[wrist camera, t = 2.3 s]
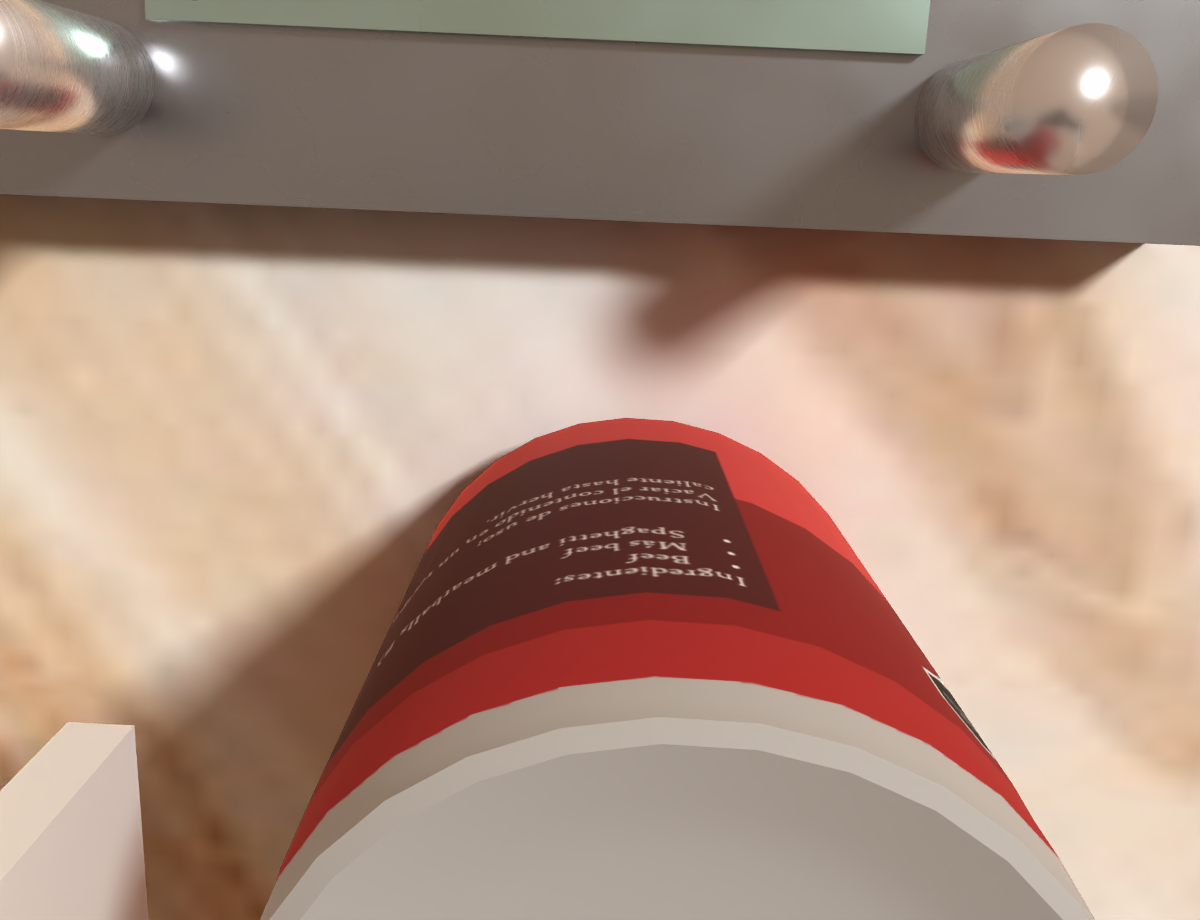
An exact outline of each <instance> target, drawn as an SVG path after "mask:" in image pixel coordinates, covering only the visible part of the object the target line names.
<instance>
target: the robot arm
mask: <svg viewBox="0 0 1200 920" xmlns="http://www.w3.org/2000/svg"><path fill="white" fill-rule="evenodd" d="M0 920H149V915H148V902H147V888H146V875H145V861H144V848H143V835H142V821H141V808H140V794H139V781H138V767H137V754H136V741H135V727H134V725H117V724H95V723H74V722H67V723H66V724H65V725H64V726H63V727H62V728H61V729H60V730H59V731H58V732H57V734H56V735H55V736H54V737H53V738H52V739H51V740H50V741H49V742H48V743H47V744H46V745H45V746H44V747H43V748H42V749H41V750H40V751H39V752H38V753H37V754H36V755H35V756H34V757H33V758H32V759H31V760H30V761H29V762H28V763H27V764H26V765H25V766H24V767H23V768H22V769H21V770H20V771H19V772H18V773H17V774H16V775H15V776H14V777H13V778H12V779H11V780H10V781H9V782H8V783H7V784H6V785H5V786H4V787H3V788H2V789H1V790H0Z"/></svg>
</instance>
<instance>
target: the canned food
mask: <svg viewBox="0 0 1200 920" xmlns="http://www.w3.org/2000/svg"><path fill="white" fill-rule="evenodd" d="M260 920H1095V919H1094V917H1093V916H1092V914H1091V912H1090V910H1089V909H1088V907H1087V905H1086V904H1085V902H1084V900H1083V898H1082V897H1081V895H1080V893H1079V892H1078V890H1077V888H1076V887H1075V885H1074V883H1073V881H1072V880H1071V878H1070V876H1069V875H1068V873H1067V871H1066V869H1065V868H1064V866H1063V864H1062V863H1061V861H1060V859H1059V857H1058V856H1057V854H1056V853H1055V851H1054V850H1053V848H1052V847H1051V845H1050V844H1049V842H1048V841H1047V839H1046V838H1045V836H1044V835H1043V833H1042V832H1041V831H1040V829H1039V828H1038V826H1037V825H1036V823H1035V822H1034V820H1033V818H1032V816H1031V815H1030V813H1029V811H1028V810H1027V808H1026V806H1025V805H1024V803H1023V801H1022V799H1021V798H1020V796H1019V794H1018V793H1017V791H1016V789H1015V787H1014V786H1013V784H1012V783H1011V781H1010V780H1009V778H1008V777H1007V775H1006V774H1005V773H1004V771H1003V770H1002V768H1001V767H1000V765H999V764H998V762H997V761H996V759H995V758H994V756H993V755H992V753H991V752H990V751H989V749H988V748H987V746H986V745H985V743H984V742H983V740H982V739H981V737H980V736H979V734H978V733H977V732H976V730H975V729H974V727H973V726H972V724H971V723H970V721H969V720H968V718H967V717H966V715H965V714H964V712H963V711H962V710H961V708H960V707H959V705H958V704H957V702H956V701H955V699H954V698H953V696H952V695H951V693H950V692H949V690H948V689H947V688H946V686H945V685H944V683H943V682H942V680H941V679H940V677H939V676H938V674H937V673H936V671H935V670H934V668H933V667H932V666H931V664H930V663H929V661H928V660H927V658H926V657H925V655H924V654H923V652H922V651H921V649H920V648H919V646H918V645H917V644H916V642H915V641H914V639H913V638H912V636H911V635H910V633H909V632H908V630H907V629H906V627H905V626H904V624H903V623H902V622H901V620H900V619H899V617H898V616H897V614H896V613H895V611H894V610H893V608H892V607H891V605H890V604H889V603H888V601H887V600H886V598H885V597H884V595H883V594H882V592H881V591H880V589H879V588H878V586H877V585H876V583H875V582H874V581H873V579H872V578H871V576H870V575H869V573H868V572H867V570H866V569H865V567H864V566H863V564H862V563H861V561H860V560H859V559H858V557H857V556H856V554H855V553H854V551H853V550H852V548H851V547H850V545H849V544H848V542H847V541H846V539H845V538H844V537H843V535H842V534H841V532H840V531H839V529H838V528H837V526H836V525H835V523H834V522H833V520H832V519H831V517H830V516H829V515H828V513H827V512H826V511H825V510H824V509H823V508H822V507H821V506H820V505H819V504H818V502H817V501H816V500H815V499H814V498H813V497H812V496H811V495H810V494H809V492H808V491H807V490H806V489H805V488H804V487H803V486H802V485H801V484H800V483H799V481H797V480H796V479H795V478H793V477H792V476H791V475H789V474H788V473H787V472H785V471H784V470H783V469H781V468H780V467H779V466H777V465H776V464H774V463H773V462H772V461H770V460H769V459H768V458H766V457H765V456H764V455H762V454H761V453H759V452H757V451H755V450H753V449H751V448H748V447H746V446H744V445H742V444H740V443H738V442H736V441H734V440H732V439H730V438H728V437H726V436H723V435H721V434H719V433H716V432H712V431H708V430H704V429H701V428H697V427H693V426H689V425H686V424H682V423H678V422H674V421H663V420H648V419H634V418H622V419H614V420H605V421H597V422H589V423H581V424H577V425H574V426H571V427H568V428H565V429H562V430H559V431H556V432H553V433H550V434H547V435H544V436H541V437H538V438H535V439H533V440H531V441H530V442H528V443H526V444H524V445H523V446H521V447H519V448H517V449H516V450H514V451H512V452H510V453H509V454H507V455H505V456H503V457H502V458H500V459H498V460H496V461H495V462H494V463H493V464H492V465H491V466H490V467H489V468H487V469H486V470H485V471H484V472H483V473H482V474H481V475H480V476H478V477H477V478H476V479H475V480H474V481H473V482H472V483H471V484H469V485H468V486H467V487H466V488H465V489H464V490H463V491H462V492H461V494H460V495H459V496H458V498H457V499H456V501H455V502H454V503H453V505H452V506H451V507H450V509H449V510H448V512H447V513H446V514H445V516H444V517H443V518H442V520H441V521H440V522H439V524H438V525H437V528H436V530H435V532H434V534H433V536H432V538H431V541H430V543H429V545H428V547H427V549H426V551H425V554H424V556H423V558H422V560H421V562H420V564H419V566H418V569H417V571H416V573H415V575H414V577H413V579H412V582H411V584H410V586H409V588H408V590H407V592H406V595H405V597H404V599H403V601H402V603H401V605H400V608H399V610H398V612H397V614H396V616H395V618H394V620H393V623H392V625H391V627H390V629H389V631H388V633H387V636H386V638H385V640H384V642H383V644H382V646H381V649H380V651H379V653H378V655H377V657H376V659H375V662H374V664H373V666H372V668H371V670H370V672H369V674H368V677H367V679H366V681H365V683H364V685H363V687H362V690H361V692H360V694H359V696H358V698H357V700H356V703H355V705H354V707H353V709H352V711H351V713H350V716H349V718H348V720H347V722H346V724H345V726H344V729H343V731H342V733H341V735H340V737H339V739H338V741H337V744H336V746H335V748H334V750H333V752H332V754H331V757H330V759H329V761H328V763H327V765H326V767H325V770H324V772H323V774H322V776H321V778H320V780H319V783H318V785H317V787H316V789H315V791H314V793H313V795H312V798H311V800H310V802H309V804H308V806H307V809H306V811H305V813H304V816H303V818H302V820H301V822H300V825H299V827H298V829H297V832H296V834H295V836H294V838H293V841H292V843H291V845H290V848H289V850H288V852H287V854H286V857H285V859H284V861H283V864H282V866H281V868H280V871H279V875H278V878H277V881H276V884H275V886H274V888H273V891H272V893H271V895H270V897H269V900H268V902H267V904H266V907H265V909H264V911H263V913H262V916H261V918H260Z"/></svg>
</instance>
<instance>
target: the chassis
mask: <svg viewBox="0 0 1200 920" xmlns="http://www.w3.org/2000/svg"><path fill="white" fill-rule="evenodd" d="M0 194H12V195H35V196H58V197H81V198H104V199H128V200H151V201H174V202H197V203H220V204H244V205H267V206H290V207H313V208H337V209H360V210H383V211H406V212H429V213H453V214H476V215H499V216H522V217H545V218H569V219H592V220H615V221H638V222H662V223H685V224H708V225H731V226H754V227H778V228H801V229H824V230H847V231H870V232H894V233H917V234H940V235H963V236H987V237H1010V238H1033V239H1056V240H1079V241H1103V242H1126V243H1149V244H1172V245H1196V246H1200V0H0Z"/></svg>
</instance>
